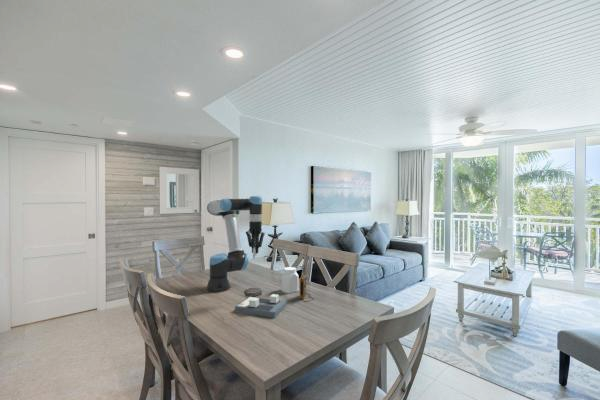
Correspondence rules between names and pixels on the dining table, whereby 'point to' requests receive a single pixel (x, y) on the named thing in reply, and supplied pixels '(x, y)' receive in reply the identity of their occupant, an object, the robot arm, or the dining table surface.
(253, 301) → the near slider
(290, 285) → the jar
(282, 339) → the dining table surface
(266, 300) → the switch panel
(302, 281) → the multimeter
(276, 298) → the far slider
